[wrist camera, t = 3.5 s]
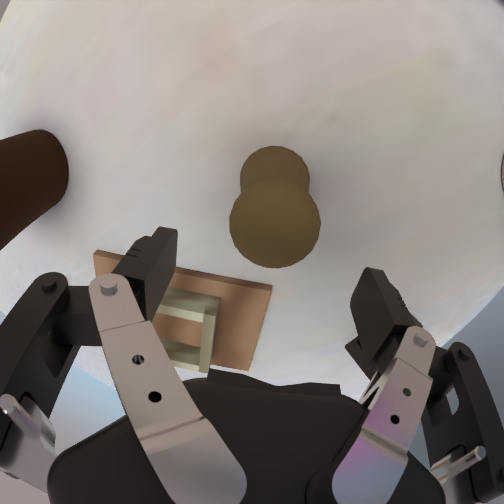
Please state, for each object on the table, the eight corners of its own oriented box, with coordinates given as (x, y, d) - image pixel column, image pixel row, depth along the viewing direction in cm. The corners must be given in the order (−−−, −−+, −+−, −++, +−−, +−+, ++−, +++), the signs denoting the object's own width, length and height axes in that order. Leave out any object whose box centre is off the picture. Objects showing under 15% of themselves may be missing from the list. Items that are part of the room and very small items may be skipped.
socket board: (271, 285, 30) (270, 310, 27) (249, 365, 37) (246, 389, 34) (97, 249, 30) (79, 268, 26) (111, 333, 37) (100, 353, 33)
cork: (225, 177, 25) (194, 233, 15) (277, 131, 22) (279, 156, 13) (272, 224, 27) (269, 301, 17) (323, 183, 24) (354, 242, 15)
